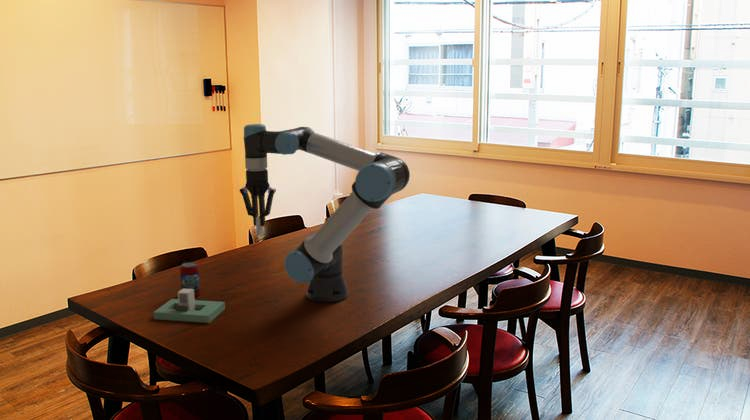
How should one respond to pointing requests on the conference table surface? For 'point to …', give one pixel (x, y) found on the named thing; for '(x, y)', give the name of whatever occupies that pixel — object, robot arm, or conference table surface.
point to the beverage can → (190, 277)
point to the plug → (186, 298)
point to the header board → (189, 311)
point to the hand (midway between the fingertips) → (259, 234)
